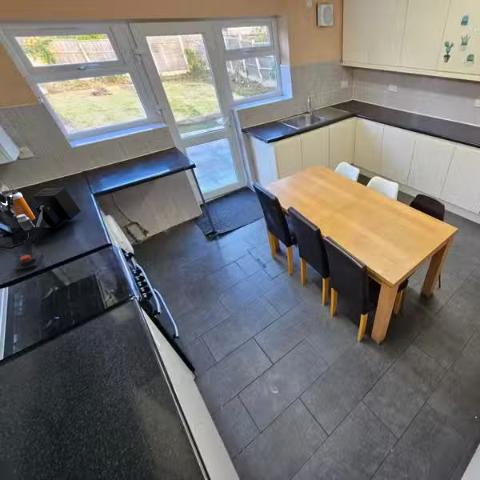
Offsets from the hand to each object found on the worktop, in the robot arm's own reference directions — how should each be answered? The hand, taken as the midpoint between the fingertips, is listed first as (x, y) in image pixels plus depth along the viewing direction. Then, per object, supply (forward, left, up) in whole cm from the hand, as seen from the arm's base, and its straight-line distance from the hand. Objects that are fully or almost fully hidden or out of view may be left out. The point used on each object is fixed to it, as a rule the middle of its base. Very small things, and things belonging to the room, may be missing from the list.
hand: (13, 216), depth 142 cm
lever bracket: (+24, -2, -21) cm, 32 cm away
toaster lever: (+19, 0, -13) cm, 23 cm away
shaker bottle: (+38, +16, -21) cm, 46 cm away
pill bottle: (+26, +12, -21) cm, 35 cm away
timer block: (-16, -1, -21) cm, 27 cm away
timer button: (-16, -1, -17) cm, 24 cm away
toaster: (+33, -5, -21) cm, 39 cm away
